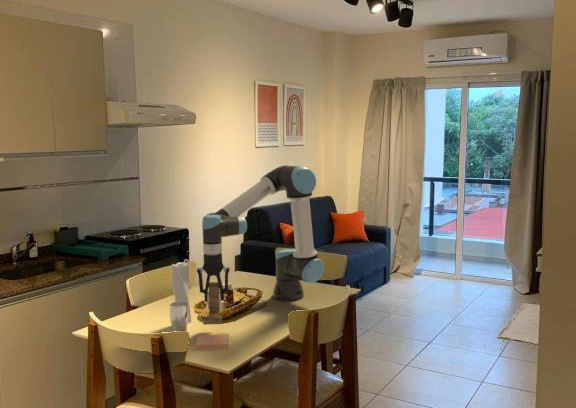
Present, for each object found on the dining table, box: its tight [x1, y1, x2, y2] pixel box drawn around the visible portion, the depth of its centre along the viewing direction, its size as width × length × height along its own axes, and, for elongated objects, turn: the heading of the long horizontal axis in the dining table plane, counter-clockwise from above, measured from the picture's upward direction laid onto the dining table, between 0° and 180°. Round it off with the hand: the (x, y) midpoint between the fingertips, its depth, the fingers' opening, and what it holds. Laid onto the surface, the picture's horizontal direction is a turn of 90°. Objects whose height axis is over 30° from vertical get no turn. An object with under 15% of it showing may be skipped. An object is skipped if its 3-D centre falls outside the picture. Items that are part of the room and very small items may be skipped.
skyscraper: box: [171, 258, 192, 326], centre depth 237 cm, size 8×8×28 cm
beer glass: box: [169, 301, 188, 332], centre depth 219 cm, size 7×7×15 cm
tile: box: [195, 333, 230, 350], centre depth 217 cm, size 12×2×10 cm
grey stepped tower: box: [202, 281, 223, 326], centre depth 225 cm, size 16×7×12 cm, turn 4°
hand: (214, 308), depth 232 cm, fingers closed on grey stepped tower, 4 cm apart
